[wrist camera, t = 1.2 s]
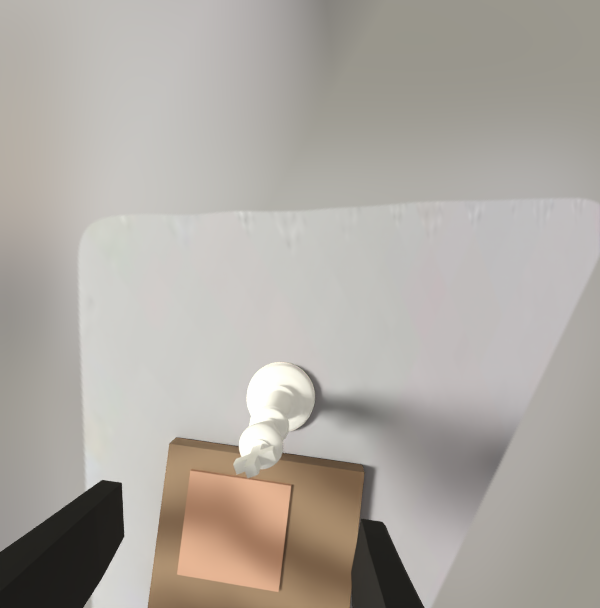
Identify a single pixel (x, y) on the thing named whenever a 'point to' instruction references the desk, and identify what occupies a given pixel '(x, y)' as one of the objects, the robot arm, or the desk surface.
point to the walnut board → (254, 531)
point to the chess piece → (273, 414)
